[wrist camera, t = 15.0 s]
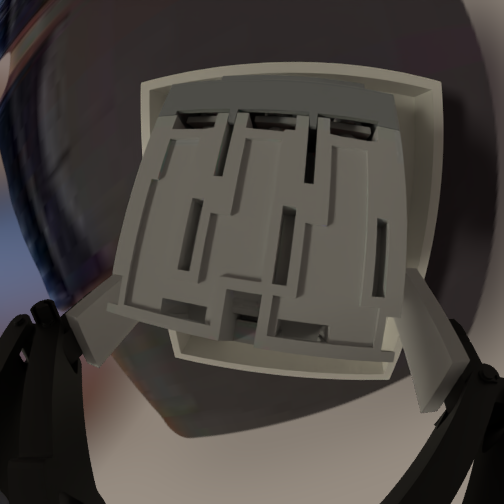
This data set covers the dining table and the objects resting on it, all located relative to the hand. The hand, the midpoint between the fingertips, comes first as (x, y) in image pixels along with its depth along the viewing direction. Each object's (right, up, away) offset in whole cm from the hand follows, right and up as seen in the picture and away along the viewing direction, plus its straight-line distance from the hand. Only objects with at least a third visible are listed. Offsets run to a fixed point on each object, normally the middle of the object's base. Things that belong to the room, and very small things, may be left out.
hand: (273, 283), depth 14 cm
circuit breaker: (+2, +3, +8) cm, 9 cm away
